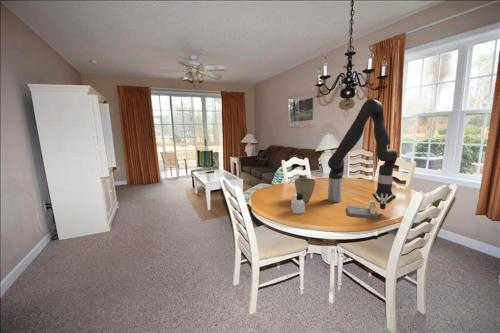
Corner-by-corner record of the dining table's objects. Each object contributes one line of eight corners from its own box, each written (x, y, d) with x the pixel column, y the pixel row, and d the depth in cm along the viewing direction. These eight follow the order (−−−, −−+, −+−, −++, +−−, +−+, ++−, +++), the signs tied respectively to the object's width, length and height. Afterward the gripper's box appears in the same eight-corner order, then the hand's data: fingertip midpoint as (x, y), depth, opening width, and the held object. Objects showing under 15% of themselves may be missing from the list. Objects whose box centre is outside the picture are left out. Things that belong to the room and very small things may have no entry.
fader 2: (370, 213, 128) (371, 205, 127) (369, 212, 131) (370, 204, 130) (375, 214, 127) (375, 206, 127) (374, 212, 130) (375, 204, 129)
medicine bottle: (301, 209, 144) (302, 192, 142) (304, 213, 137) (305, 195, 135) (291, 209, 144) (291, 192, 142) (293, 213, 137) (293, 195, 135)
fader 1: (369, 209, 135) (370, 202, 134) (369, 208, 137) (369, 200, 137) (374, 210, 134) (374, 202, 133) (373, 208, 136) (374, 201, 136)
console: (347, 215, 132) (348, 212, 132) (347, 208, 144) (347, 205, 144) (378, 218, 126) (378, 216, 126) (375, 210, 138) (375, 208, 137)
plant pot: (315, 204, 152) (316, 182, 150) (294, 203, 155) (294, 182, 153) (313, 197, 167) (314, 177, 164) (294, 197, 170) (294, 177, 167)
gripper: (373, 182, 129) (371, 209, 132) (399, 184, 125) (396, 212, 128) (371, 179, 136) (369, 205, 139) (396, 181, 131) (393, 208, 134)
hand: (382, 209), depth 133 cm, fingers closed
